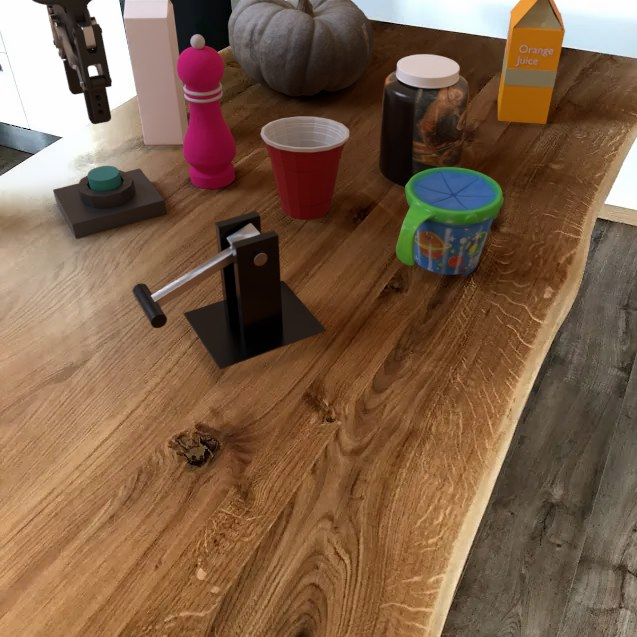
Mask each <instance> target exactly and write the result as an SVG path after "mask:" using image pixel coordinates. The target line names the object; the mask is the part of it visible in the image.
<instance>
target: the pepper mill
mask: <svg viewBox="0 0 637 637" xmlns="http://www.w3.org/2000/svg"><path fill="white" fill-rule="evenodd" d="M177 73H178V76H179V78H180V79H181V81H182V82H183V90H184V98H185V100H187V102H188V106H189V121H188V129H187V132H186V135H185V138H184V144H183V145H182V150H183V151H182V152H183V154H182V155H183V158H184V159H185V161H186V162H187V164H189V168H188V170H189V178H190V182H191V183H192V184H193V186H195V187H197V188H200V189H204V190H217V189H221V188H225V187H227V186H229V185H231V184H232V183H233V182H234V181H235V179H236V174H235V165H234V163H233V160H234V159H235V157H236V155H237V146H236V142H235V138H234V136H233V134H232V132H231V130H230V128H229V126H228V125H227V122H226V121H225V119H224V116H223V113H222V107H221V98H223V94H224V92H223V90H222V89H223V84H222V83H221V81H222V79H223V78H224V75H225V63H224V59H223V58H222V56H221V54H220V53H219V52H218V51H217V50H216V49H214V48H213V47H210V46H208V45H206V41H205V38H204V37H203V35H201V34H198V33H197V34H193V36H191V38H190V47H187V48H186V49H184V50H183V51H181V53H179V58H178V61H177Z"/></svg>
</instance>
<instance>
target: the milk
mask: <svg viewBox="0 0 637 637" xmlns="http://www.w3.org/2000/svg"><path fill="white" fill-rule="evenodd" d="M123 8H124V9H123V23H124V28H125V34H126V40H127V41H126V42H127V46H128V52H129V53H128V54H129V58H130V64H131V71H132V76H133V77H132V78H133V82H134V87H135V93H136V100H137V105H138V106H137V107H138V111H139V118H140V123H141V129H142V130H141V131H142V135H143V142H144V145H145V146H176V145H177V146H178V145H179V146H180V145H181V146H183V144H184V138H185V135H186V132H187V129H188V125H189V121H188V115H187V106H186V98H185V97H184V93H185V92H184V90H183V87H184V83H183V82H182V81H181V79H180V78H179V76H178V73H177V61H178V58H179V56H180V52H179V51H180V50H179V44H178V35H177V34H178V33H177V28H176V20H175V11H174V5H173V3H172V1H171V0H124V7H123Z"/></svg>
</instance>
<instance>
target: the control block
mask: <svg viewBox="0 0 637 637" xmlns="http://www.w3.org/2000/svg"><path fill="white" fill-rule="evenodd" d="M118 170H119V172H120V177H121V182H122V184H121V186H119V187H118V188H116V189H114V190H110V191H94V190H91V188H90V185H89V180H88V176H87V175H86V176H83V177H82V178H81V179H80V180H79V182H77V183H75V184H70V185H66V186H62V187H58V188H53V189H52V191H53V192H52V193H53V195H54V199H55V200H54V201H55V203H56V206H57V207H58V209H59V211H60V213H61V214H62V216H63V218H64V220H65V222H66V224H67V226H68V227H69V228H70V231H71V233H72V235H73V237H74V239H75V240H77V239H82V238H85V237H88V236H92V235H97V234H100V233H104V232H107V231H111V230H115V229H118V228H122V227H126V226H129V225H132V224H133V225H134V224H136V223H140V222H144V221H147V220H151V219H155V218H159V217H163V216H166V215H167V213H168V212H167V208H166V200H165V199H164V198H163V196H162V195H161V194H160V193H159V191H158V190H157V188H156V187H155V186H154V185H153V183H152V182H151V181H150V179H149V178H148V177H147V175H146V174H145V173H144V172H143V170H142V169H141V168H140V167H139V168H136V169H131V170H128V171H124V170H120V169H118Z"/></svg>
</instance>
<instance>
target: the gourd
mask: <svg viewBox="0 0 637 637" xmlns="http://www.w3.org/2000/svg"><path fill="white" fill-rule="evenodd" d="M227 29H228V42H229V46H230V49H231V53H232V56H233V58H234V59H235V61H236V62H237V63H238V65H239V66H240V67H241V68H242V70H243V71H244V72H245V73H246V74H247V75H248V77H250V78H252V80H254V81H256V83H258V84H260V85H261V86H263V87H266V88H268V89H272V90H274V91H275V92H277V93H281V94H284V95H286V96H288V97H300V96H305V97H312V96H314V95H317V94H318V93H320V92H321V91H324V92H338V91H341V90H343V89H346V88H348V87H350V86H351V85H353V84H354V83H355V82H357V80H359V79H360V78H361V77H362V75H363V74H365V72H366V70H367V69H368V67H369V64H370V61H371V58H372V57H371V56H372V51H373V46H374V36H375V34H374V30H373V27H372V23H371V21H370V19H369V17H367V15H366V14H365V13H364V11H363V10H362V9H361V8H359V6H358V5H357V4H356V3H355V2H354V1H353V0H239V1H238V3H237V4H236V6H235V8H234V9H233V11H232V12H231V14H230V16H229V20H228V24H227Z"/></svg>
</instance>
